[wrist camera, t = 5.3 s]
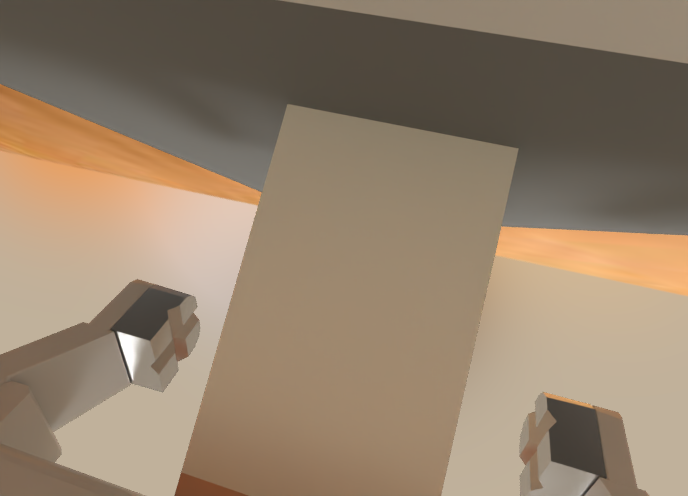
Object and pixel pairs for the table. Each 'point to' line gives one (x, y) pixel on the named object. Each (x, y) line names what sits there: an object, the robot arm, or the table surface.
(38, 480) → the robot arm
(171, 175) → the table surface
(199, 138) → the mat
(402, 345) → the block
